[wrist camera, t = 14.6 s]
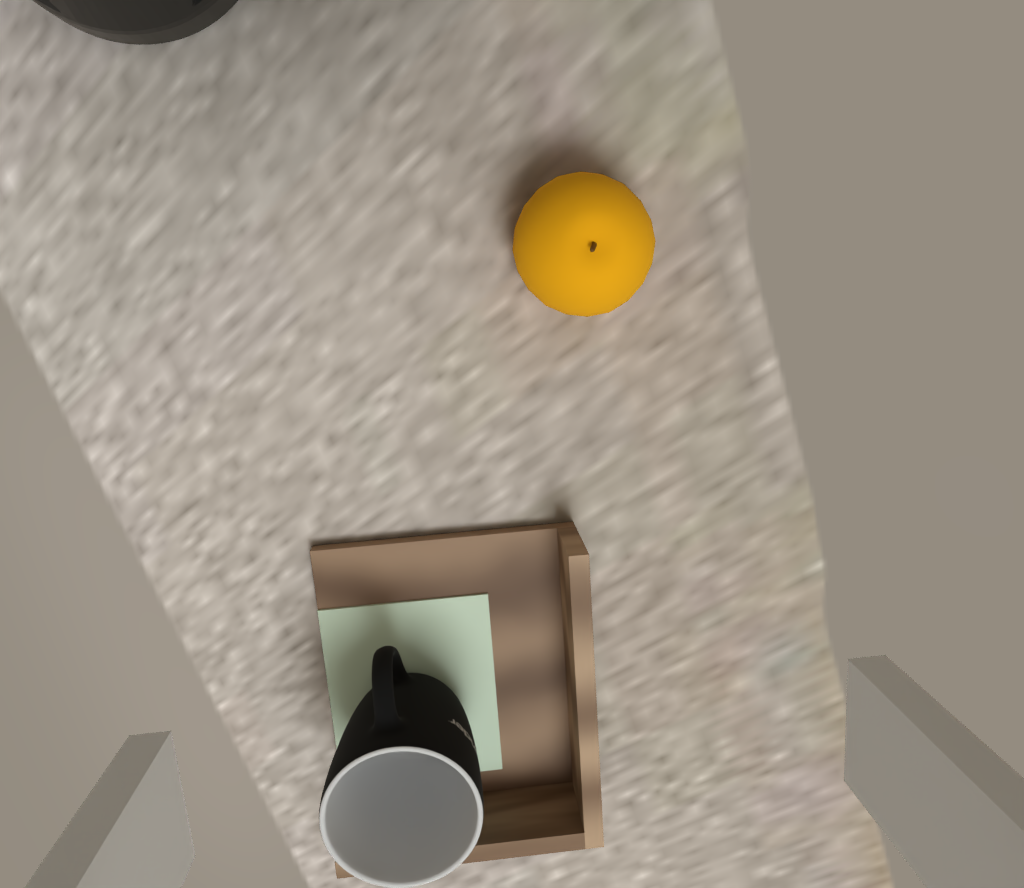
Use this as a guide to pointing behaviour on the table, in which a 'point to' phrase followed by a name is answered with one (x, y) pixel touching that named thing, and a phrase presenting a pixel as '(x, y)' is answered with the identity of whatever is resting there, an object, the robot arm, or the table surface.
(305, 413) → the table surface
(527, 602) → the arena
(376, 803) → the mug
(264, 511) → the table surface
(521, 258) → the yellow orange fruit
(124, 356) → the table surface
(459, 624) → the pad
